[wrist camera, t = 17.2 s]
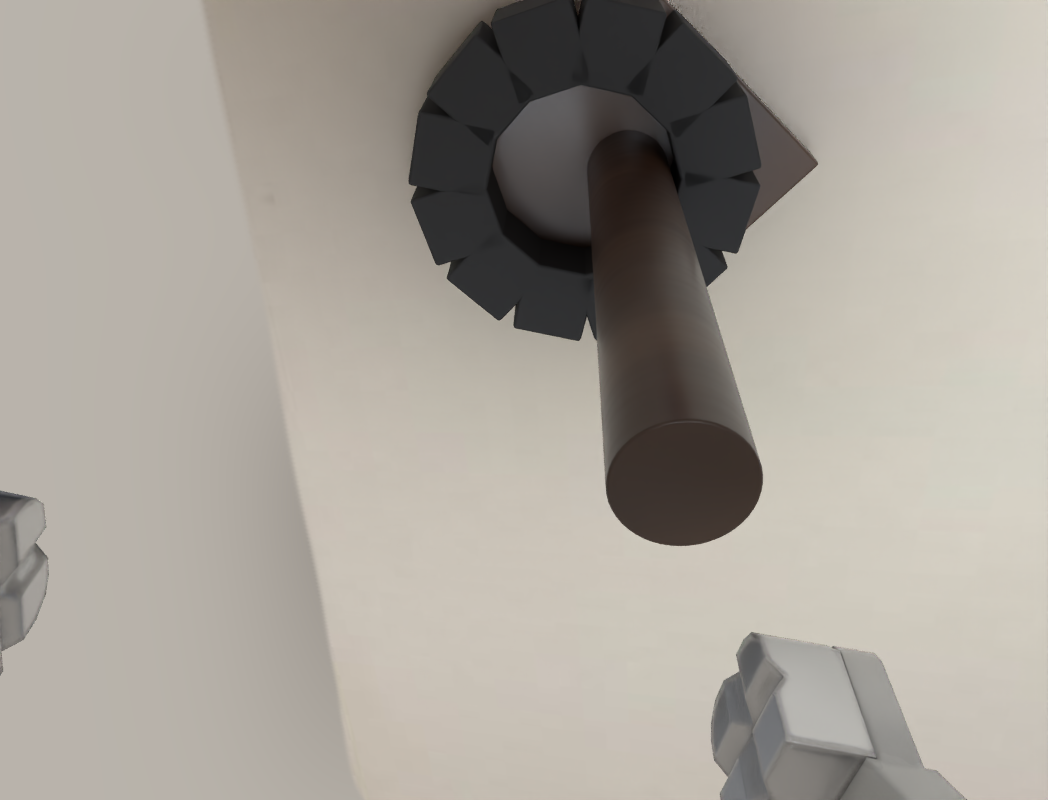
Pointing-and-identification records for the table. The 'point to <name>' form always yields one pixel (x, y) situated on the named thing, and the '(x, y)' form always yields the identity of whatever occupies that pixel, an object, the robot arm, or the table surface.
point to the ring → (550, 67)
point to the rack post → (647, 301)
